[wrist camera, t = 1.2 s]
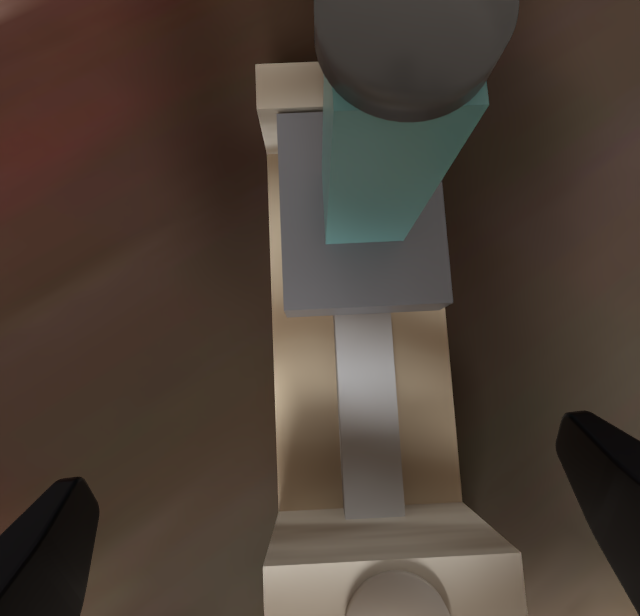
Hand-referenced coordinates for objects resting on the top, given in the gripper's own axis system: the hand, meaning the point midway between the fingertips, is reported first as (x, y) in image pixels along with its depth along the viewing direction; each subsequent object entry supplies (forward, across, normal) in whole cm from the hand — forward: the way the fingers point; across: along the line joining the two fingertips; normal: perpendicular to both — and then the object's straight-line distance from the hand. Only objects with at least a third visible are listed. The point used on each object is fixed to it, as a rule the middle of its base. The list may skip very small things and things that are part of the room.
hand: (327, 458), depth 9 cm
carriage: (+13, -3, +1) cm, 13 cm away
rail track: (+12, -2, +6) cm, 14 cm away
